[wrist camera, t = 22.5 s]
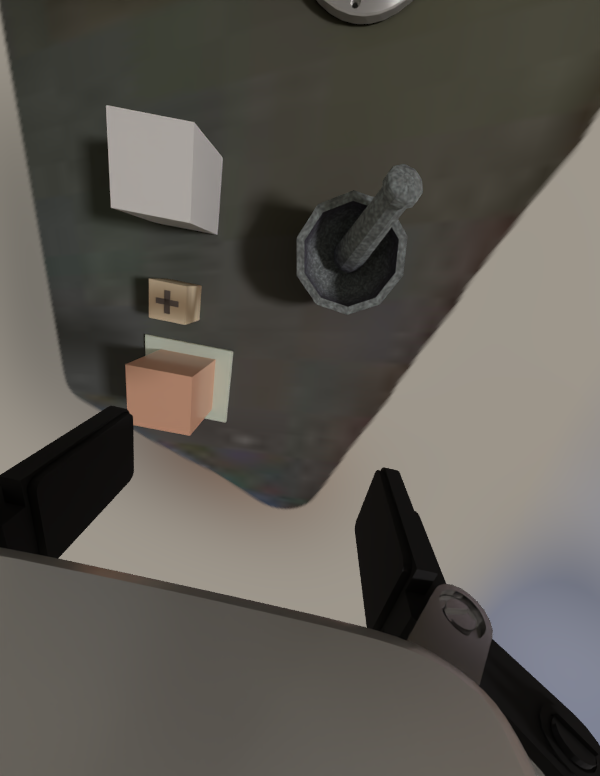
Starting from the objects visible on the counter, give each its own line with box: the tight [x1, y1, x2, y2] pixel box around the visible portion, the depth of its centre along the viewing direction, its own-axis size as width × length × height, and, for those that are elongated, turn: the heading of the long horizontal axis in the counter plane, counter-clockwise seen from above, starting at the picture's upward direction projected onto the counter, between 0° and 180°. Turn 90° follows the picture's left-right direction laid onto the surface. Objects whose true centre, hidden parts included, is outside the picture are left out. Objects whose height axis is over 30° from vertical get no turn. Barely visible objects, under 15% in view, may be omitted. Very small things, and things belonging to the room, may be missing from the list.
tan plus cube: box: [149, 279, 201, 325], centre depth 32 cm, size 4×4×4 cm
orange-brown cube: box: [125, 349, 216, 436], centre depth 34 cm, size 7×7×7 cm
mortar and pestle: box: [297, 164, 423, 315], centre depth 26 cm, size 11×9×12 cm
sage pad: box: [145, 334, 233, 422], centre depth 38 cm, size 10×11×1 cm
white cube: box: [106, 105, 223, 235], centre depth 27 cm, size 7×7×7 cm
